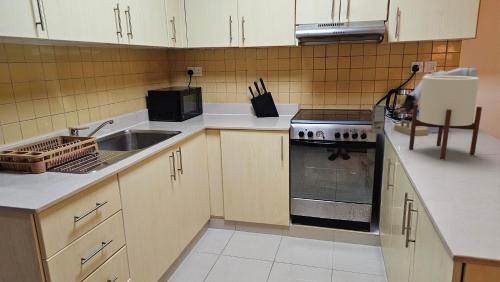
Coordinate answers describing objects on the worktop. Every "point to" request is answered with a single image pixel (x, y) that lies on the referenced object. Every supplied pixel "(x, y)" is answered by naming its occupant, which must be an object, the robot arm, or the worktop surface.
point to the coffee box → (378, 119)
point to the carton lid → (409, 126)
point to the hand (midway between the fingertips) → (404, 109)
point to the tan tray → (408, 132)
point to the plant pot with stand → (447, 108)
